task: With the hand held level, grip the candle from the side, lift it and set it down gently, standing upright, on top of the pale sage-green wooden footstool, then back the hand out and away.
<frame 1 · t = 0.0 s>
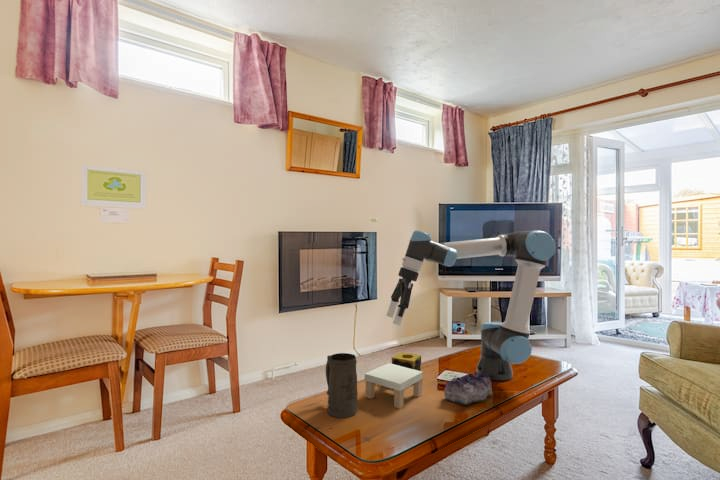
hand: (392, 320, 155), 28 cm above the table, fingers open, 13 cm apart
beer stein: (337, 409, 139), on the table
geode: (469, 398, 150), on the table
footstool: (393, 396, 151), on the table
candle: (406, 379, 169), on the table
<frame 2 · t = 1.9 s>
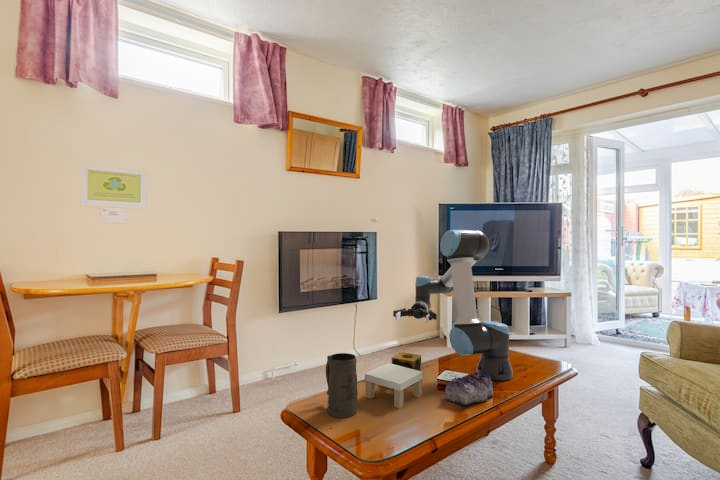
hand: (411, 318, 177), 24 cm above the table, fingers open, 13 cm apart
nothing on the table moved.
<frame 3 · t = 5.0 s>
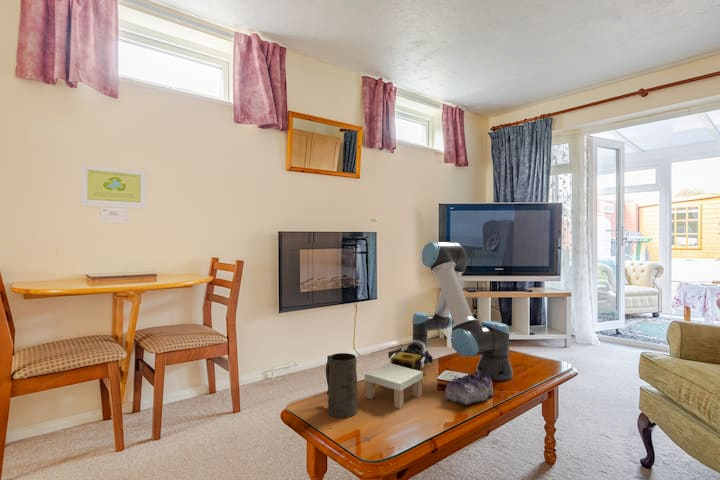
hand: (406, 362, 172), 6 cm above the table, fingers open, 13 cm apart
candle: (405, 379, 168), on the table, touching gripper
everything else where it was.
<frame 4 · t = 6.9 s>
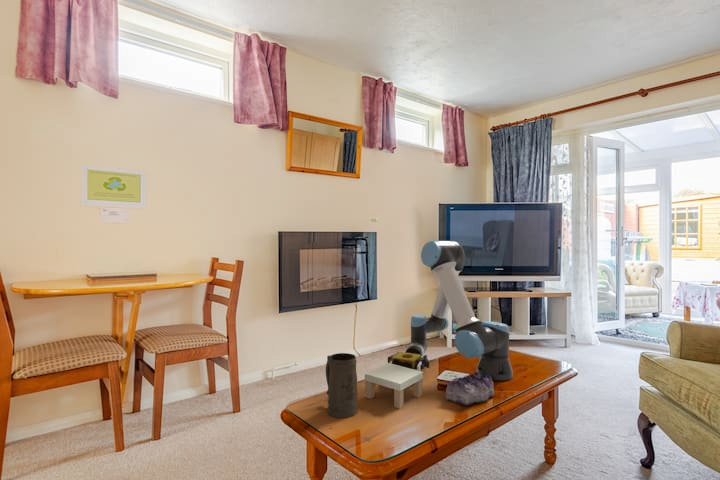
hand: (404, 368, 165), 6 cm above the table, fingers closed on candle, 11 cm apart
candle: (405, 379, 168), on the table, touching gripper
everything else where it was.
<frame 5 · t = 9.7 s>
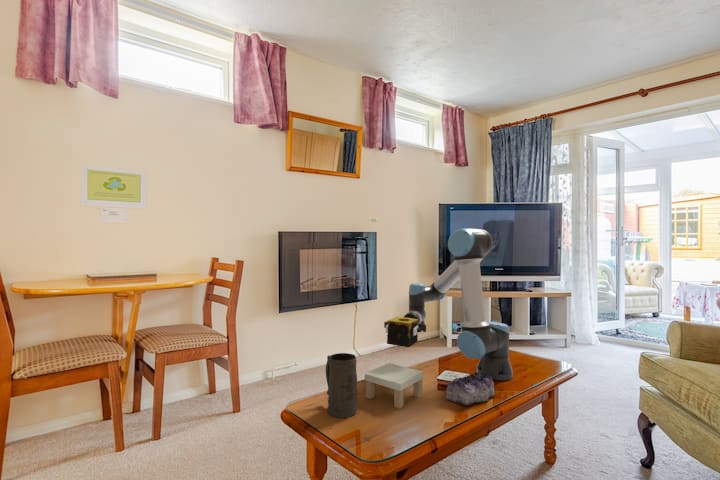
hand: (400, 331, 163), 22 cm above the table, fingers closed on candle, 11 cm apart
candle: (402, 343, 166), point 16 cm above the table, touching gripper
everything else where it was.
when the fingers open (16 cm above the table, at t = 12.8 s): candle drops 1 cm, resting on footstool.
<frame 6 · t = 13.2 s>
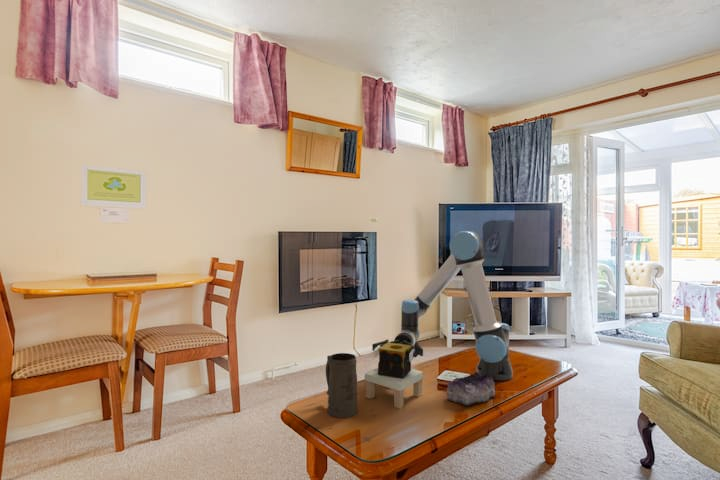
hand: (392, 355, 147), 16 cm above the table, fingers open, 13 cm apart
candle: (394, 373, 150), point 9 cm above the table, touching footstool
everything else where it was.
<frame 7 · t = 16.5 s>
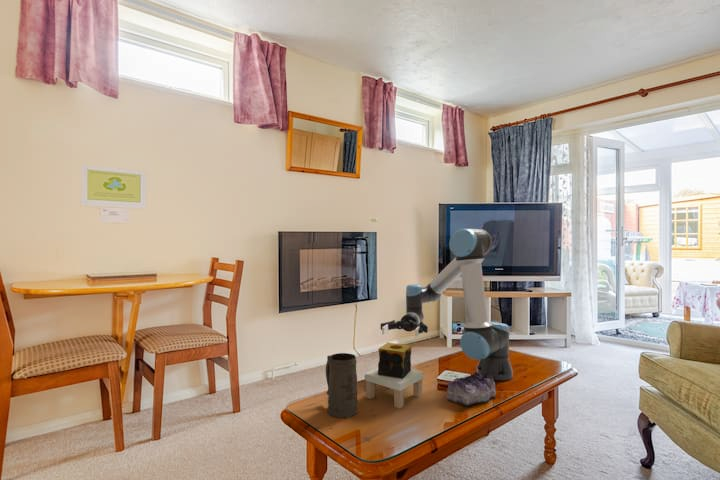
hand: (399, 332, 160), 22 cm above the table, fingers open, 13 cm apart
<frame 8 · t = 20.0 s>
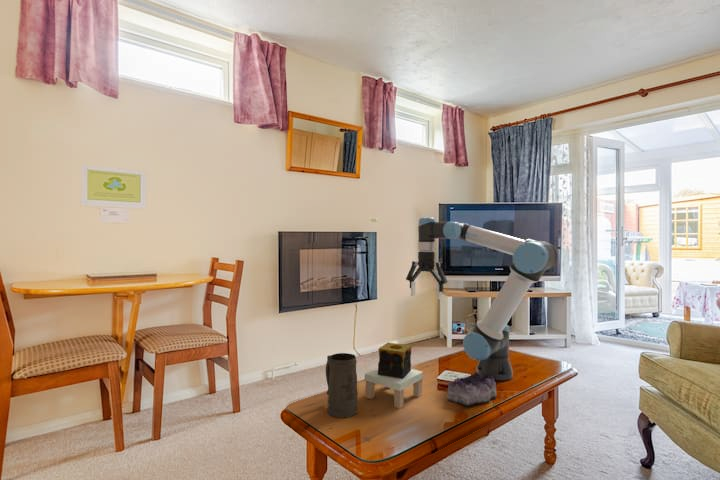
hand: (425, 297, 183), 33 cm above the table, fingers open, 13 cm apart
at the end: candle inside the target area on the footstool (0.3 cm from its centre), point 8.8 cm above the footstool's base; candle tilted 0°; the gripper is holding nothing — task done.
